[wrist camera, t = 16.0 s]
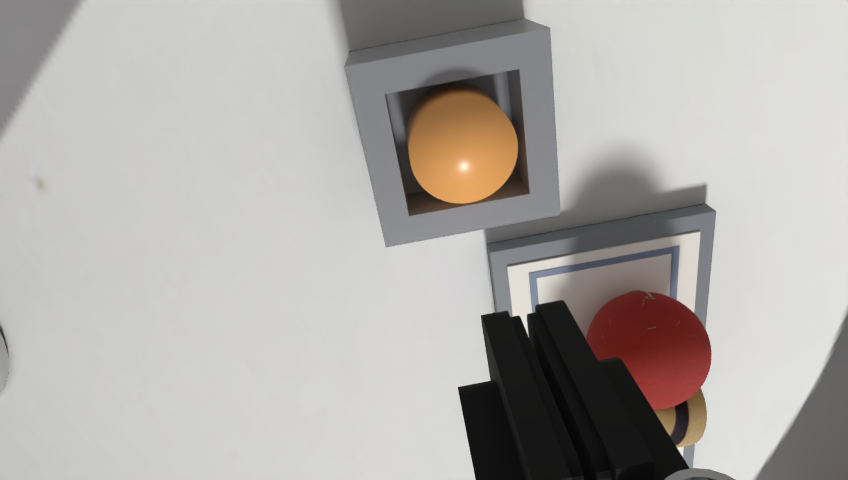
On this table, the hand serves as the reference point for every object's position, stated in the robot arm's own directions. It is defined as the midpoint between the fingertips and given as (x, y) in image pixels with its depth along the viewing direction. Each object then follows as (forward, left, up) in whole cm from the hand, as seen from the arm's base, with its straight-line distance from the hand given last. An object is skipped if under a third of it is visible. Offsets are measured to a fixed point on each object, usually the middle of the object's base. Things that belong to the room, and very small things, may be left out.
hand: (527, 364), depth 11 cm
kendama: (+18, +7, -16) cm, 25 cm away
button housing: (-1, +1, -17) cm, 17 cm away
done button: (-1, +1, -15) cm, 15 cm away
